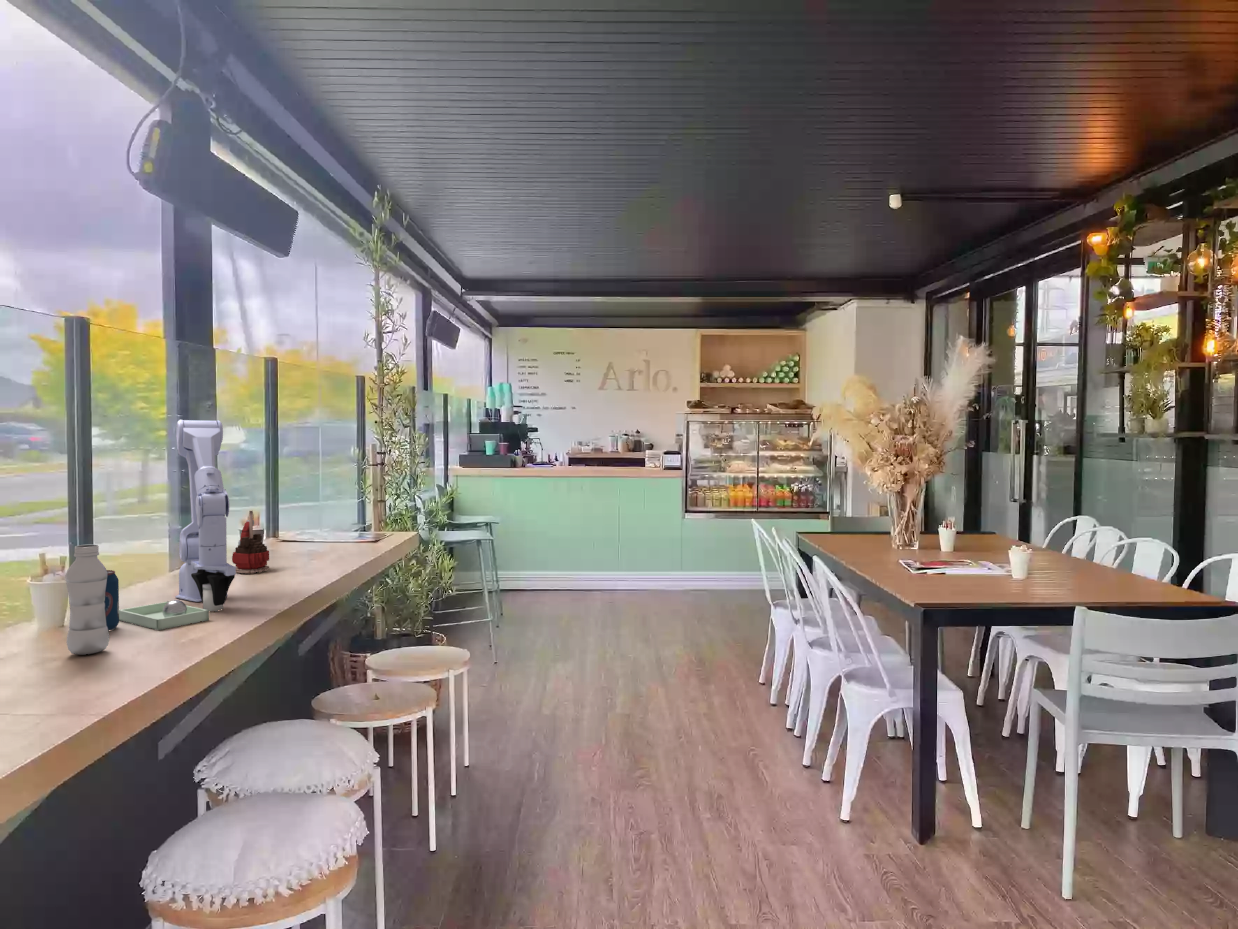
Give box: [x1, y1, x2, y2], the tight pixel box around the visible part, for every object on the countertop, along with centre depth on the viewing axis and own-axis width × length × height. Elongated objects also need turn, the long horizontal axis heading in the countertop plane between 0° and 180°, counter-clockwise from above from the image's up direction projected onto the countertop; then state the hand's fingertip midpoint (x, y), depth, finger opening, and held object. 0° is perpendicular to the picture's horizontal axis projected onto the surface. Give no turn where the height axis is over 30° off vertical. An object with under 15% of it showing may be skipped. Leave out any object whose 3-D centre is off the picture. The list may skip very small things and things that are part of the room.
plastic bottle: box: [64, 544, 110, 656], centre depth 148 cm, size 6×7×20 cm
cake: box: [231, 510, 270, 575], centre depth 235 cm, size 11×9×18 cm
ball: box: [163, 599, 187, 618], centre depth 173 cm, size 5×5×5 cm
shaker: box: [202, 583, 224, 612], centre depth 186 cm, size 4×4×6 cm
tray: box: [119, 600, 210, 631], centre depth 175 cm, size 16×11×2 cm
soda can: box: [104, 569, 120, 632], centre depth 166 cm, size 7×7×12 cm
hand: (213, 603), depth 186 cm, fingers closed on shaker, 4 cm apart
